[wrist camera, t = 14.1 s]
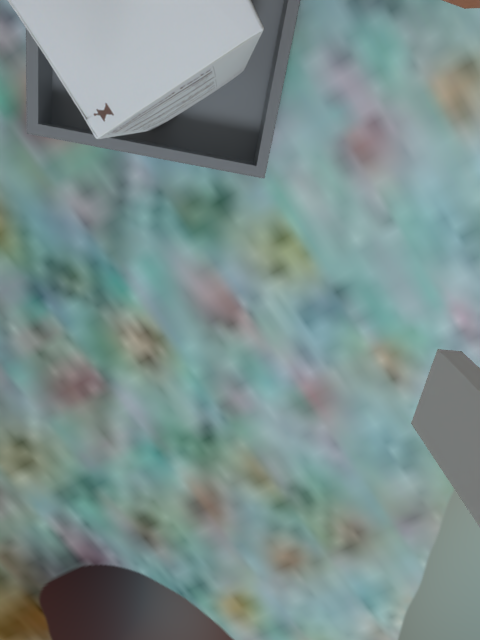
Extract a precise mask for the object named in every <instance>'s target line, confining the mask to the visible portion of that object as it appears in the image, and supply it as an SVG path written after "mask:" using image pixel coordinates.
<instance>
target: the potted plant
mask: <svg viewBox="0 0 480 640" xmlns="http://www.w3.org/2000/svg"><path fill="white" fill-rule="evenodd" d="M443 1H446V2H448V3H451V4H454V5H456V6H459V7H462V8H464V9H466V8H480V0H443Z"/></svg>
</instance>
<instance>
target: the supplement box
mask: <svg viewBox="0 0 480 640" xmlns="http://www.w3.org/2000/svg"><path fill="white" fill-rule="evenodd" d="M8 2H9V3H10V5H11V6H12V7H13V9H14V10H15V12H16V13H17V15H18V16H19V18H20V19H21V21H22V22H23V24H24V25H25V27H26V28H27V30H28V31H29V33H30V34H31V36H32V37H33V39H34V40H35V42H36V43H37V45H38V46H39V48H40V49H41V51H42V52H43V54H44V55H45V57H46V59H47V60H48V62H49V63H50V65H51V66H52V68H53V70H54V71H55V73H56V74H57V76H58V77H59V79H60V81H61V82H62V84H63V85H64V87H65V88H66V90H67V92H68V93H69V95H70V96H71V98H72V100H73V101H74V103H75V104H76V106H77V108H78V109H79V111H80V112H81V114H82V116H83V117H84V119H85V121H86V122H87V124H88V126H89V128H90V129H91V131H92V133H93V135H94V137H95V138H96V139H103V138H109V137H115V136H121V135H127V134H134V133H140V132H147V131H151V130H153V129H155V128H157V127H159V126H160V125H162V124H164V123H166V122H167V121H169V120H171V119H172V118H174V117H175V116H177V115H179V114H180V113H182V112H183V111H185V110H187V109H188V108H190V107H191V106H193V105H194V104H196V103H198V102H199V101H201V100H202V99H204V98H206V97H207V96H209V95H210V94H212V93H213V92H215V91H216V90H218V89H219V88H221V87H222V86H224V85H225V84H227V83H228V82H230V81H231V80H232V79H234V78H235V77H237V76H238V75H239V74H240V73H242V72H243V71H244V69H245V67H246V65H247V63H248V61H249V59H250V57H251V54H252V53H253V51H254V48H255V46H256V44H257V42H258V40H259V38H260V36H261V34H262V32H263V30H264V27H263V25H262V23H261V21H260V19H259V16H258V14H257V12H256V10H255V8H254V6H253V4H252V1H251V0H8Z"/></svg>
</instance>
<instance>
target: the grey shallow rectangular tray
mask: <svg viewBox="0 0 480 640" xmlns="http://www.w3.org/2000/svg"><path fill="white" fill-rule="evenodd" d="M251 1H252V4H253V6H254V8H255V10H256V12H257V14H258V16H259V19H260V21H261V23H262V25H263V27H264V30H263V32H262V34H261V36H260V38H259V40H258V42H257V44H256V46H255V48H254V51H253V53H252V54H251V57H250V59H249V61H248V63H247V65H246V67H245V69H244V71H243V72H242V73H240V74H239V75H238V76H237V77H235V78H234V79H232V80H231V81H230V82H228V83H227V84H225V85H224V86H222V87H221V88H219V89H218V90H216V91H215V92H213V93H212V94H210V95H209V96H207V97H206V98H204V99H202V100H201V101H199V102H198V103H196V104H194V105H193V106H191V107H190V108H188V109H187V110H185V111H183V112H182V113H180V114H179V115H177V116H175V117H174V118H172V119H171V120H169V121H167V122H166V123H164V124H162V125H160V126H159V127H157V128H155V129H153V130H151V131H147V132H140V133H134V134H127V135H121V136H115V137H109V138H103V139H96V138H95V137H94V135H93V133H92V131H91V129H90V128H89V126H88V124H87V122H86V121H85V119H84V117H83V116H82V114H81V112H80V111H79V109H78V108H77V106H76V104H75V103H74V101H73V100H72V98H71V96H70V95H69V93H68V92H67V90H66V88H65V87H64V85H63V84H62V82H61V81H60V79H59V77H58V76H57V74H56V73H55V71H54V70H53V68H52V66H51V65H50V63H49V62H48V60H47V59H46V57H45V55H44V54H43V52H42V51H41V49H40V48H39V46H38V45H37V43H36V42H35V40H34V39H33V37H32V36H31V34H30V33H29V31H28V30H27V28H26V90H27V134H33V135H38V136H43V137H48V138H54V139H59V140H64V141H69V142H75V143H80V144H85V145H91V146H96V147H101V148H106V149H112V150H117V151H122V152H128V153H133V154H138V155H143V156H149V157H154V158H159V159H164V160H170V161H175V162H180V163H186V164H191V165H196V166H201V167H207V168H212V169H217V170H222V171H228V172H233V173H238V174H244V175H249V176H254V177H259V178H265V173H266V168H267V163H268V158H269V153H270V148H271V143H272V138H273V133H274V128H275V123H276V118H277V113H278V108H279V103H280V98H281V93H282V88H283V83H284V78H285V73H286V68H287V63H288V58H289V53H290V49H291V44H292V39H293V34H294V29H295V24H296V19H297V14H298V9H299V4H300V0H251Z"/></svg>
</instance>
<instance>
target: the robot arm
mask: <svg viewBox="0 0 480 640" xmlns="http://www.w3.org/2000/svg"><path fill="white" fill-rule="evenodd" d="M411 424H412V425H413V427H414V428H415V430H416V431H417V433H418V434H419V436H420V437H421V439H422V441H423V442H424V444H425V445H426V447H427V448H428V450H429V451H430V453H431V454H432V456H433V457H434V459H435V460H436V462H437V463H438V465H439V466H440V468H441V469H442V471H443V472H444V474H445V475H446V477H447V478H448V480H449V481H450V483H451V484H452V486H453V487H454V489H455V491H456V492H457V493H458V495H459V497H460V498H461V500H462V501H463V503H464V504H465V506H466V507H467V509H468V510H469V511H470V513H471V515H472V516H473V518H474V519H475V521H476V522H477V524H478V525H479V527H480V368H479V367H478V366H477V365H475V364H474V363H473V362H472V361H471V360H470V359H469V358H468V357H467V356H466V355H465V354H464V353H463V352H462V351H452V350H441V349H438V350H437V352H436V355H435V358H434V361H433V364H432V366H431V369H430V372H429V375H428V378H427V380H426V383H425V386H424V389H423V392H422V395H421V397H420V400H419V403H418V406H417V409H416V411H415V414H414V417H413V420H412V423H411Z"/></svg>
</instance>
